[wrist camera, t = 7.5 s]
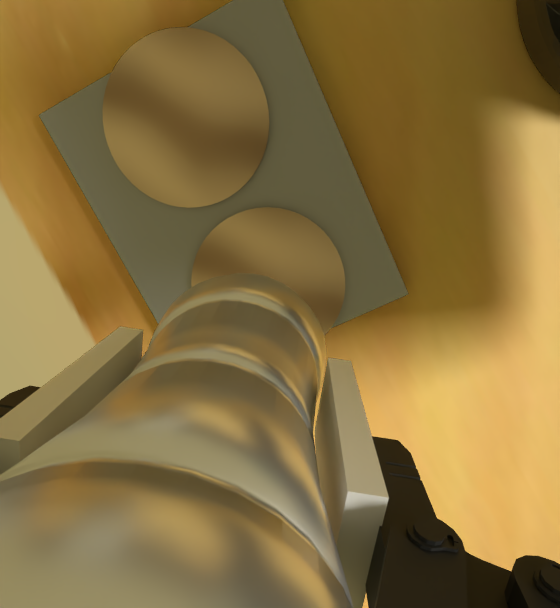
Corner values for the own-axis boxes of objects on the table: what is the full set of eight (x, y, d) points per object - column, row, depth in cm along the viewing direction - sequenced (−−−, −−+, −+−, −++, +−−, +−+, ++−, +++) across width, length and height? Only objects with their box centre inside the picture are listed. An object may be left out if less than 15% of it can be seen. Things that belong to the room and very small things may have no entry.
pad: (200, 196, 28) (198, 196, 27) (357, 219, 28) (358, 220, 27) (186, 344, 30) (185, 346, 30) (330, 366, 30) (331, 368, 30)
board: (49, 118, 28) (38, 115, 27) (274, -14, 26) (272, -24, 24) (198, 380, 32) (194, 388, 31) (404, 289, 30) (408, 294, 29)
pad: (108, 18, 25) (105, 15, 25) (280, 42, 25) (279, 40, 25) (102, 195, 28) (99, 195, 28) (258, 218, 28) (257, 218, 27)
